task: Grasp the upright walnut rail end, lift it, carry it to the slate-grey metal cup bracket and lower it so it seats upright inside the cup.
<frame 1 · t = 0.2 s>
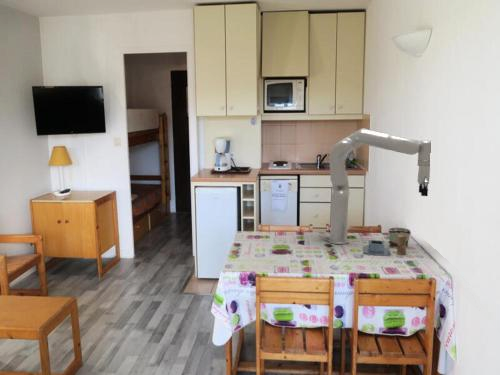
hand: (422, 194, 240), 31 cm above the table, tool pointing down, fingers open, 9 cm apart
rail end: (401, 253, 235), on the table
cup bracket: (376, 251, 238), on the table
food container: (397, 246, 249), on the table
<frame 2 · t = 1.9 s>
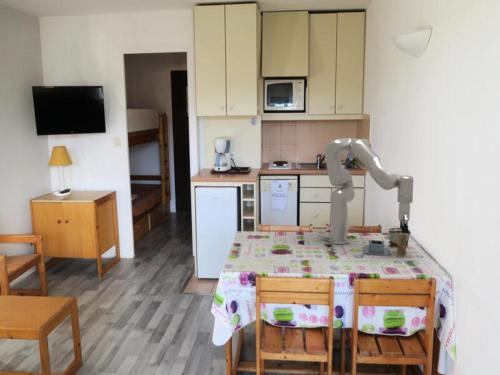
hand: (403, 230, 232), 13 cm above the table, tool pointing down, fingers open, 9 cm apart
nothing on the table moved.
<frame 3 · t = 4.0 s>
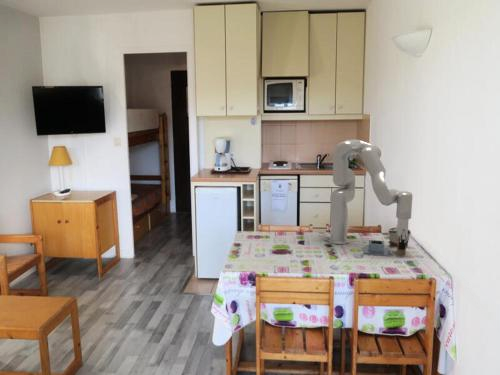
hand: (401, 247, 234), 3 cm above the table, tool pointing down, fingers closed on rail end, 4 cm apart
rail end: (401, 253, 235), on the table, touching gripper
everything else where it was.
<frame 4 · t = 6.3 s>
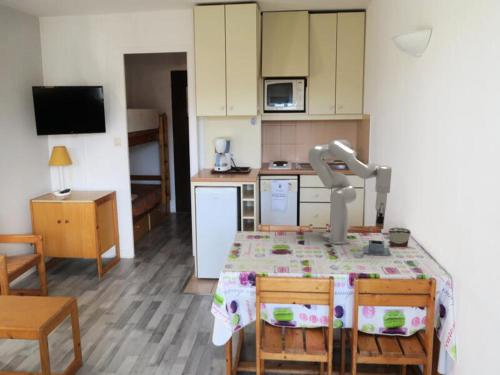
hand: (379, 222, 235), 17 cm above the table, tool pointing down, fingers closed on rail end, 4 cm apart
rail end: (379, 227, 236), point 13 cm above the table, touching gripper
everything else where it was.
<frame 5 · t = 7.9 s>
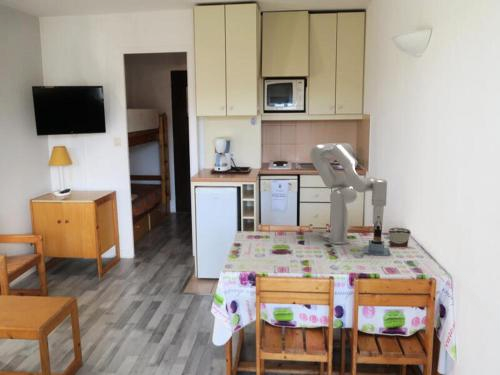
hand: (377, 235, 236), 10 cm above the table, tool pointing down, fingers closed on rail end, 4 cm apart
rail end: (377, 240, 237), point 6 cm above the table, touching gripper
everything else where it was.
when the fingers open (7 cm above the table, at t = 9.2 s): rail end drops 2 cm, resting on cup bracket.
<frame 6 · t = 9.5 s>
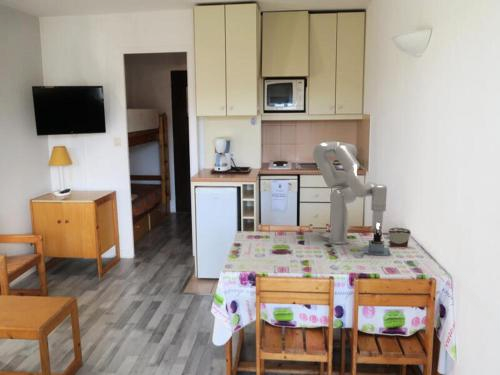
hand: (376, 239, 237), 7 cm above the table, tool pointing down, fingers open, 7 cm apart
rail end: (376, 250, 238), point 1 cm above the table, touching cup bracket
everything else where it was.
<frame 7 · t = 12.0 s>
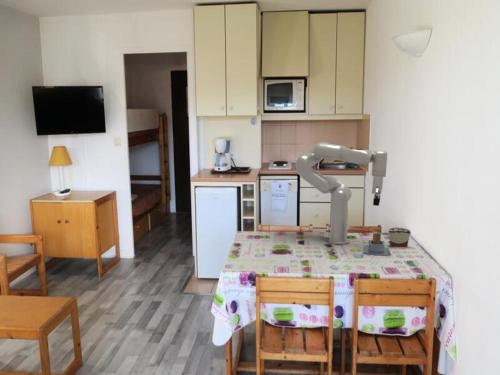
hand: (376, 203, 244), 25 cm above the table, tool pointing down, fingers open, 9 cm apart
nothing on the table moved.
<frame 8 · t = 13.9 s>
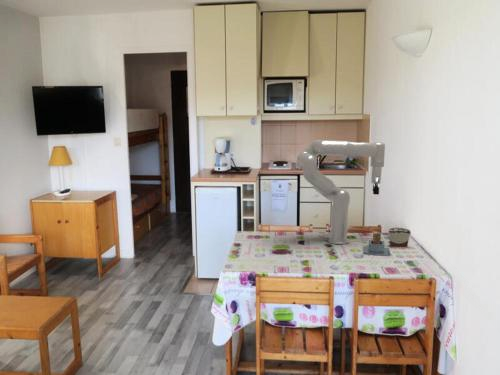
hand: (375, 192, 256), 28 cm above the table, tool pointing down, fingers open, 9 cm apart
nothing on the table moved.
at the end: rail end 0.1 cm off-centre on the cup bracket, point 0.8 cm above the cup bracket's base; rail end tilted 0°; the gripper is holding nothing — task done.
